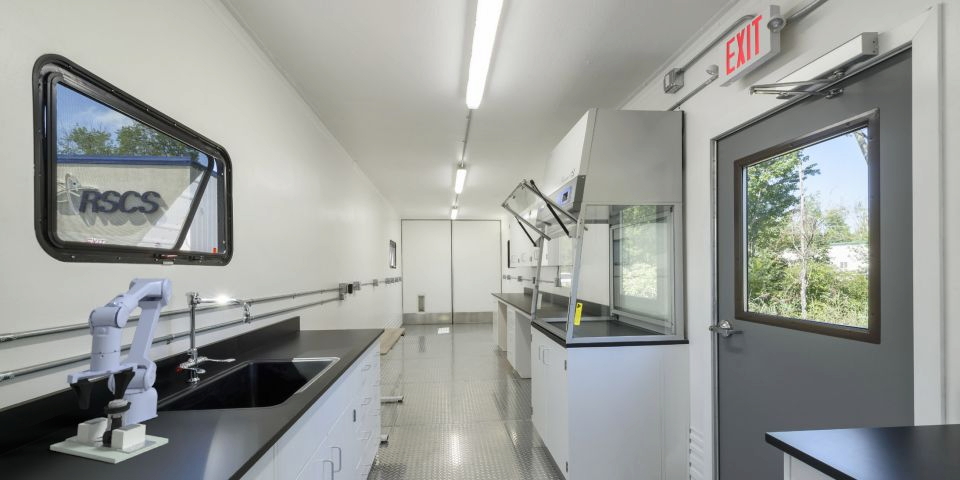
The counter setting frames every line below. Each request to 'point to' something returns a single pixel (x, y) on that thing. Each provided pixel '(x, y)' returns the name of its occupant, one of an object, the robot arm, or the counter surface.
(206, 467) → the counter surface
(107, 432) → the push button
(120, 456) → the mounting board
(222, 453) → the counter surface
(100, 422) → the mounted modules
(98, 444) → the rail
